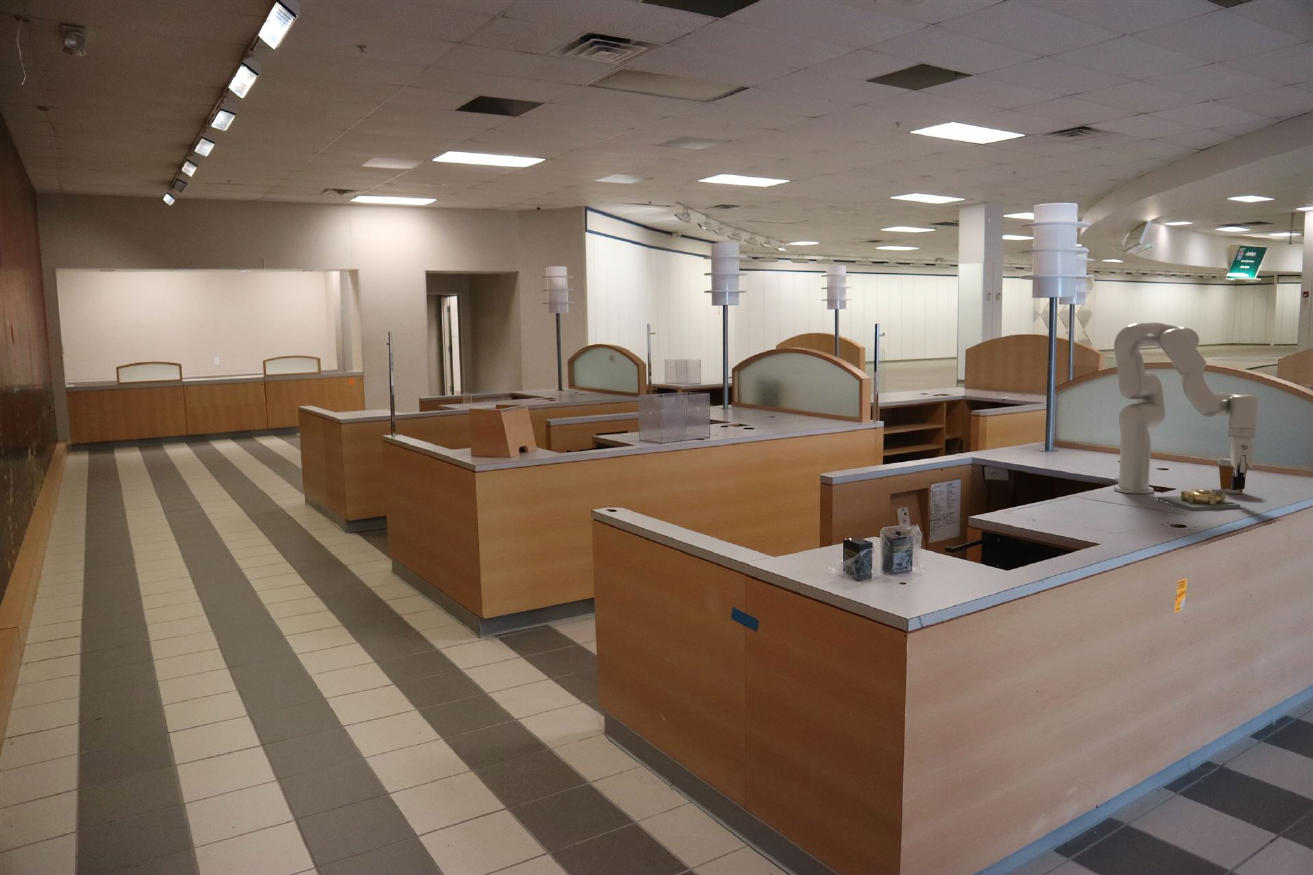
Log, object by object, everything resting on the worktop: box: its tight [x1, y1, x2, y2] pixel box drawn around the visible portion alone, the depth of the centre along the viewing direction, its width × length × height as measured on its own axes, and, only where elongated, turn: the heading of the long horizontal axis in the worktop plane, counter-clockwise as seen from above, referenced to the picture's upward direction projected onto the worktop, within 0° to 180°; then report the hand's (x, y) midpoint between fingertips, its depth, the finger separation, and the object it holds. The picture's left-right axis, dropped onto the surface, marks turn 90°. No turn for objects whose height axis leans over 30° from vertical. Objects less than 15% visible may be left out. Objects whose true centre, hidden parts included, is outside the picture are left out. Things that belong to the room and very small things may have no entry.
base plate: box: [1156, 495, 1241, 512], centre depth 298 cm, size 17×17×1 cm
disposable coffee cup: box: [1217, 456, 1248, 495], centre depth 314 cm, size 10×10×12 cm
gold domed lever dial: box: [1180, 474, 1240, 504], centre depth 296 cm, size 17×12×9 cm
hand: (1238, 488), depth 292 cm, fingers closed
